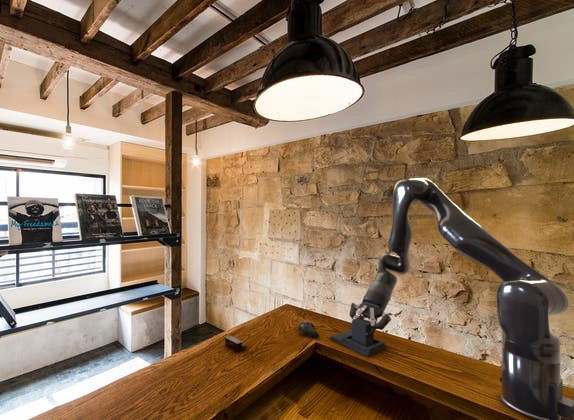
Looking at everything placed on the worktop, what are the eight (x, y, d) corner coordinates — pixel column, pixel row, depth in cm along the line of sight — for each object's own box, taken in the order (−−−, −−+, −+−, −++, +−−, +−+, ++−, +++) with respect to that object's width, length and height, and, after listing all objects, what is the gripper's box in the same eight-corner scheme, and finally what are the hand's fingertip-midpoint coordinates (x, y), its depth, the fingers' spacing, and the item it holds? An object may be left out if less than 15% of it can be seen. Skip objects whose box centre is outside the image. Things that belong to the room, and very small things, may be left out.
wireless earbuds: (239, 354, 91) (239, 344, 91) (224, 345, 97) (224, 337, 97) (247, 349, 94) (247, 340, 94) (232, 341, 100) (232, 333, 100)
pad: (386, 348, 95) (386, 341, 95) (367, 357, 90) (367, 350, 90) (348, 332, 108) (349, 326, 108) (330, 339, 102) (330, 333, 102)
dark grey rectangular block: (373, 344, 96) (373, 322, 96) (365, 347, 94) (365, 325, 94) (359, 338, 100) (359, 317, 100) (352, 341, 98) (352, 320, 98)
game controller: (320, 336, 102) (309, 324, 103) (310, 345, 103) (299, 333, 104) (315, 325, 112) (304, 315, 112) (305, 333, 112) (295, 323, 113)
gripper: (355, 285, 107) (337, 319, 101) (395, 295, 94) (376, 335, 88) (363, 295, 109) (345, 330, 104) (402, 307, 97) (384, 347, 91)
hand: (359, 332), depth 96 cm, fingers closed on dark grey rectangular block, 5 cm apart
